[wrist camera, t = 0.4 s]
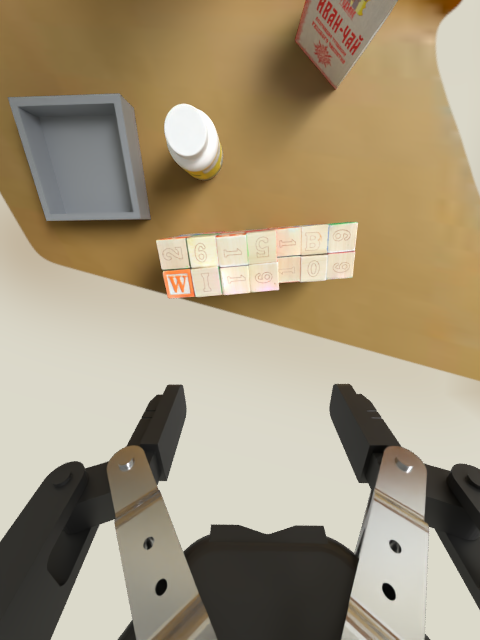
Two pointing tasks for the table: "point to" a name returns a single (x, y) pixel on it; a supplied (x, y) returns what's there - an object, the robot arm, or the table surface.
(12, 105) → the box
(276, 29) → the table surface
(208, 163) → the supplement bottle
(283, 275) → the stack of blocks
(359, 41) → the herbal tea box
